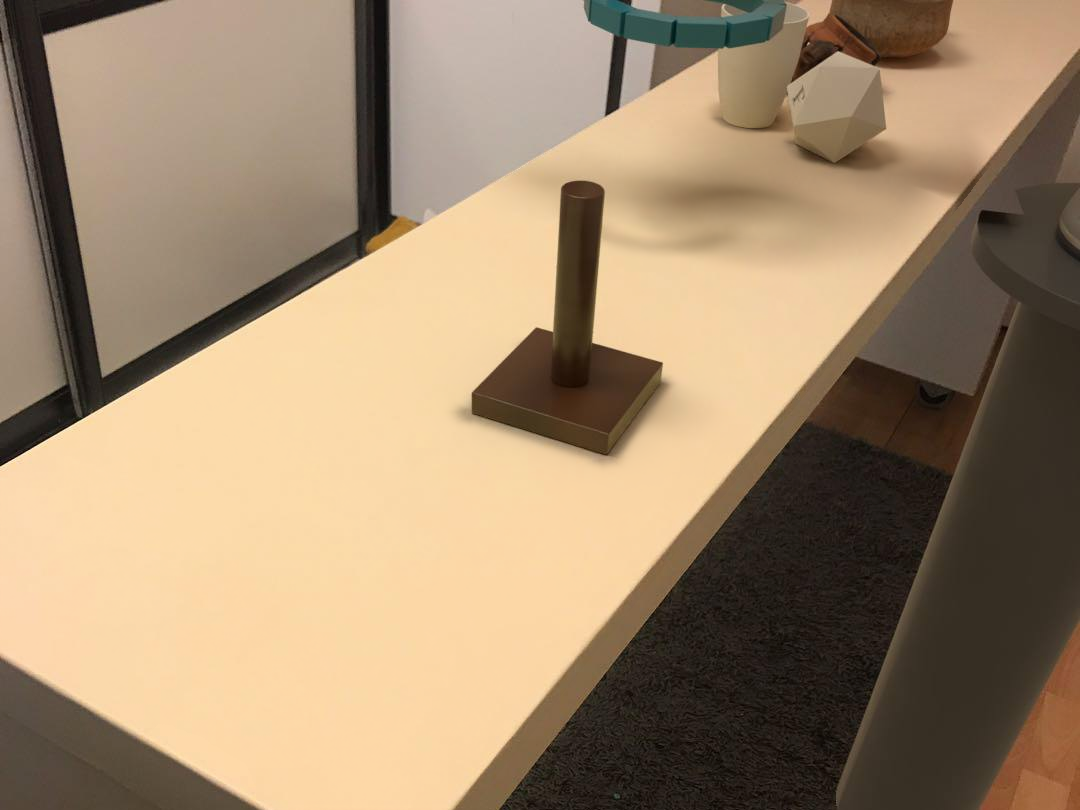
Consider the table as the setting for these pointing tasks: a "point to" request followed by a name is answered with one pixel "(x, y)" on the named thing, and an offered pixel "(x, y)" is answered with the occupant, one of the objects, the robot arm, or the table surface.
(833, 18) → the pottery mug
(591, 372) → the post
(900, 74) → the table surface
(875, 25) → the bowl
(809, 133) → the die
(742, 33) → the ring
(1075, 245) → the robot arm
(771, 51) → the cup
